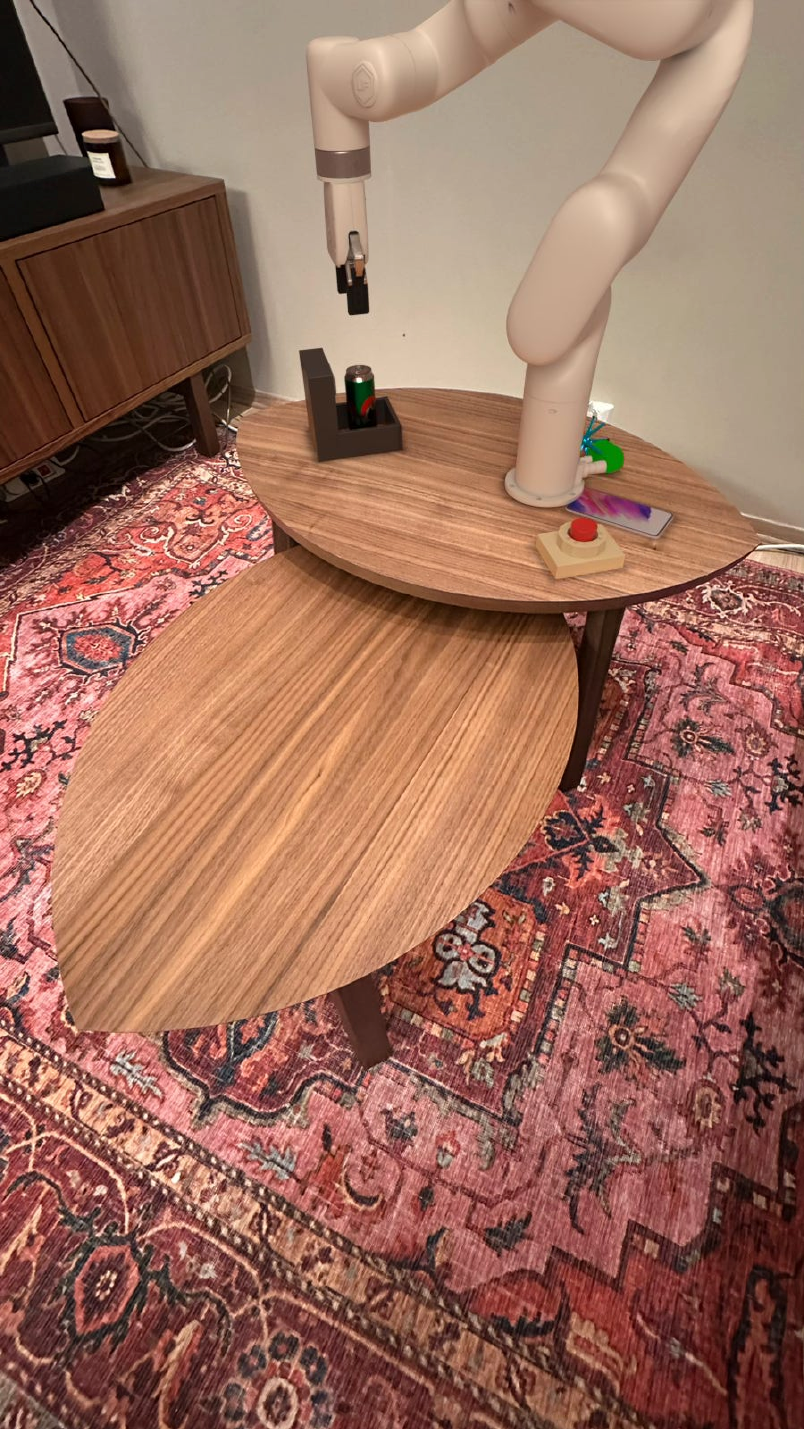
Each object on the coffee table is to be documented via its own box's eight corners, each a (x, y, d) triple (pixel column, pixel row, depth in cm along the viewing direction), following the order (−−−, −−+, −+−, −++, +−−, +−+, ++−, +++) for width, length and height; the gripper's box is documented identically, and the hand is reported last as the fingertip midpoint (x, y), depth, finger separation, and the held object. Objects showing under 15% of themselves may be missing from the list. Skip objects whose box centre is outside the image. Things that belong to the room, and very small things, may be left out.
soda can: (379, 432, 124) (375, 363, 115) (375, 446, 121) (371, 376, 112) (351, 432, 125) (345, 363, 116) (347, 445, 121) (341, 376, 112)
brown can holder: (388, 420, 127) (384, 340, 117) (402, 450, 120) (399, 366, 109) (309, 431, 125) (298, 350, 115) (318, 461, 118) (308, 378, 107)
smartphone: (658, 537, 100) (563, 508, 105) (656, 543, 100) (563, 513, 106) (675, 513, 103) (583, 486, 109) (674, 518, 104) (583, 491, 110)
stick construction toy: (548, 446, 114) (578, 403, 111) (558, 453, 121) (587, 412, 117) (604, 488, 112) (636, 445, 108) (611, 493, 118) (642, 452, 114)
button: (589, 526, 96) (591, 515, 95) (599, 541, 94) (602, 530, 93) (565, 530, 96) (566, 519, 95) (575, 545, 94) (577, 534, 92)
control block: (599, 536, 101) (604, 512, 98) (622, 568, 96) (629, 543, 93) (534, 546, 100) (538, 522, 97) (555, 579, 94) (559, 555, 91)
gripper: (307, 153, 99) (321, 287, 111) (325, 180, 87) (338, 325, 100) (358, 149, 100) (366, 283, 112) (383, 175, 88) (388, 320, 101)
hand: (353, 303), depth 106 cm, fingers open, 9 cm apart
